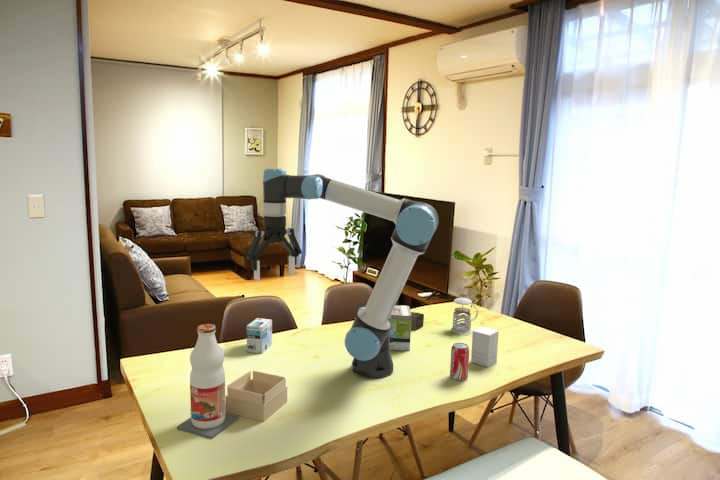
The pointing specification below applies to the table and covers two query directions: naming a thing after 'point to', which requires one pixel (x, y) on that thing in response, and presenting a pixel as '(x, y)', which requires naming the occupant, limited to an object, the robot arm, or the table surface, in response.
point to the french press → (462, 316)
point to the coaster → (210, 432)
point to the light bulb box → (259, 335)
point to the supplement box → (484, 346)
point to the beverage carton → (417, 320)
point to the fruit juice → (207, 380)
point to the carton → (256, 395)
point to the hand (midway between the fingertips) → (274, 277)
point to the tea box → (400, 328)
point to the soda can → (459, 361)
